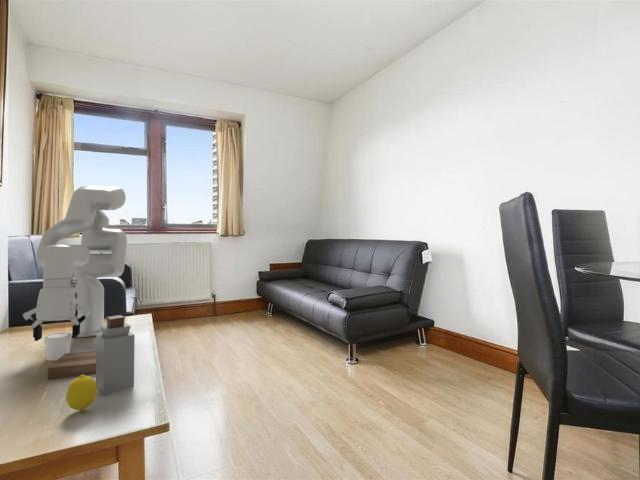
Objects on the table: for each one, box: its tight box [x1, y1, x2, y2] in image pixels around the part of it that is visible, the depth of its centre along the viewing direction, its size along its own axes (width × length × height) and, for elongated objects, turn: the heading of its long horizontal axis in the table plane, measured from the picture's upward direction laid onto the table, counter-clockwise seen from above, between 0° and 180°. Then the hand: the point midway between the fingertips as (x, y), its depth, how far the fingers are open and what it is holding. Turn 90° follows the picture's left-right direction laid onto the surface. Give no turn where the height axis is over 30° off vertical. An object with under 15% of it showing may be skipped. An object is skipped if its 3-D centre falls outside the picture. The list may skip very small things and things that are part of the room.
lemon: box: [65, 375, 98, 413], centre depth 73 cm, size 6×6×8 cm
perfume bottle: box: [95, 314, 135, 397], centre depth 85 cm, size 7×7×18 cm
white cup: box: [43, 332, 72, 362], centre depth 105 cm, size 7×7×7 cm
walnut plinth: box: [47, 350, 96, 380], centre depth 97 cm, size 12×12×3 cm
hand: (57, 338), depth 104 cm, fingers open, 9 cm apart
